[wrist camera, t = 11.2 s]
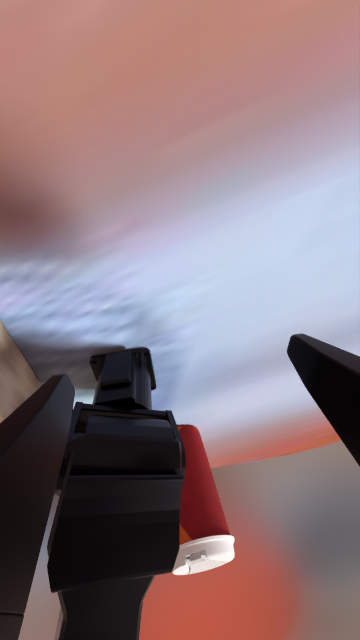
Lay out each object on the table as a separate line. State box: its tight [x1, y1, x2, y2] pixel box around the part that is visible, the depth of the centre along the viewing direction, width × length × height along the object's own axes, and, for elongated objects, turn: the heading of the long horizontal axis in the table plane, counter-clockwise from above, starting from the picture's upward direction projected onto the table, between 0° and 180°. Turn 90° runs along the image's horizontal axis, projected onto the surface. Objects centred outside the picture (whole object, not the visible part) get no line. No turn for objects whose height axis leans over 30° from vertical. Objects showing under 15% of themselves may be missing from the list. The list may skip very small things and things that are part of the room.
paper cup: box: [172, 425, 234, 575], centre depth 28 cm, size 8×8×14 cm
